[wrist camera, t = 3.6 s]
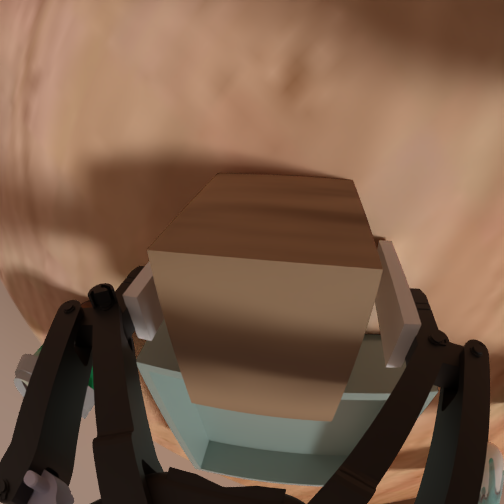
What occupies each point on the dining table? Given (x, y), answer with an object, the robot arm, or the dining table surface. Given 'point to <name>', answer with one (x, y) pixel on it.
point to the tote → (269, 421)
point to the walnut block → (268, 292)
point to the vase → (492, 476)
